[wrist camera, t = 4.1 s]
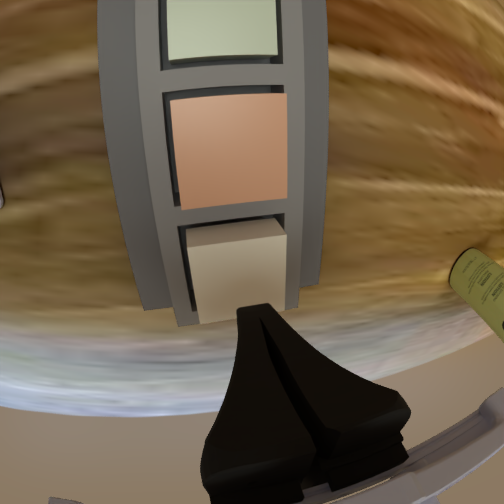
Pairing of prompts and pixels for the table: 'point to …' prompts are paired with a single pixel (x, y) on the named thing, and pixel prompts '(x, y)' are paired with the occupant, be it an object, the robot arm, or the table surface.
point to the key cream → (237, 267)
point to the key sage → (221, 30)
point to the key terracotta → (230, 148)
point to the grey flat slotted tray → (163, 154)
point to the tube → (481, 287)
